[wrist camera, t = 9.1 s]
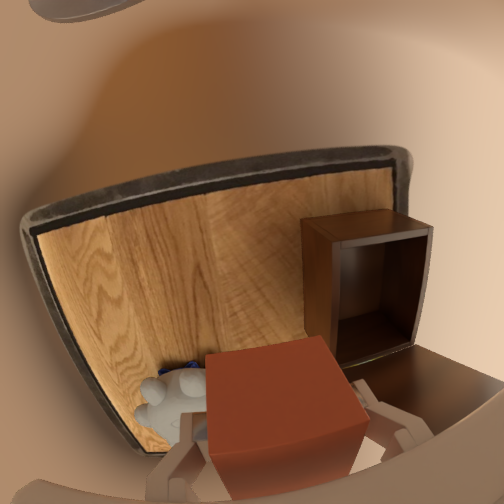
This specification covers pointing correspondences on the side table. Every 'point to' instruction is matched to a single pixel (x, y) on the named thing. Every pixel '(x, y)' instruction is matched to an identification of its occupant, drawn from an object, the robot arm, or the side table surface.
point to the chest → (364, 281)
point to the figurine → (172, 399)
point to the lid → (426, 385)
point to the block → (281, 418)
